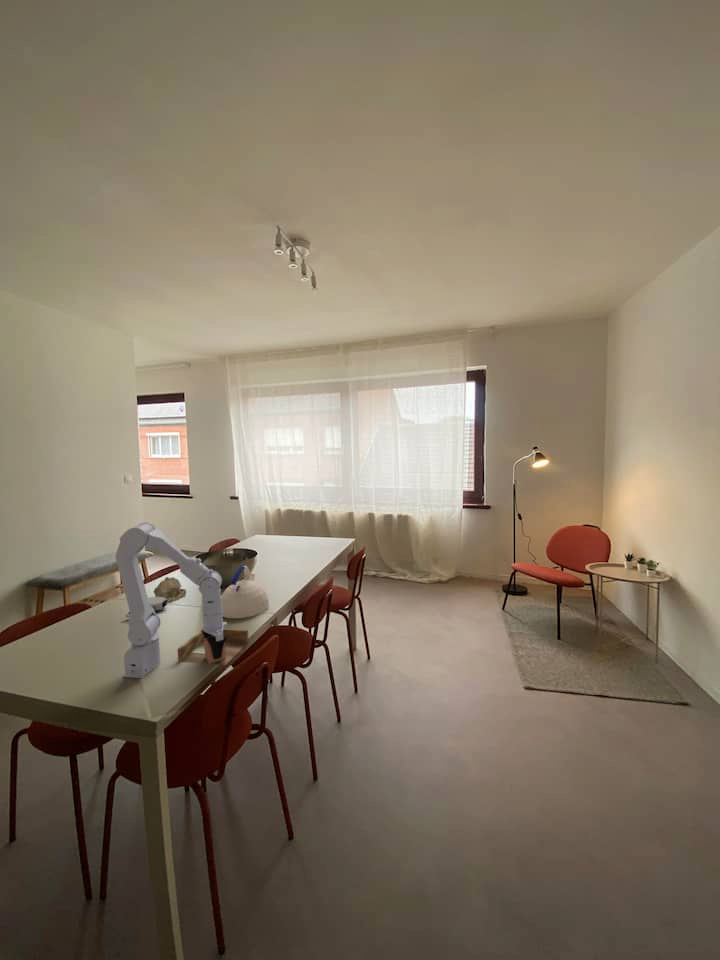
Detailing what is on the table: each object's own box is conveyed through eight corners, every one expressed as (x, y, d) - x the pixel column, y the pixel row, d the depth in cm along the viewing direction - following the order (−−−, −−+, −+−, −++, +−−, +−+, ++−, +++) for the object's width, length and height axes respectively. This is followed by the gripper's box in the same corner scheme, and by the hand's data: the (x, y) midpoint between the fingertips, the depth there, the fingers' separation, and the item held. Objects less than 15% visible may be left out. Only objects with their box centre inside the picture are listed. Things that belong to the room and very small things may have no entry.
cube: (225, 658, 123) (224, 639, 122) (209, 663, 120) (207, 644, 120) (221, 652, 127) (220, 634, 127) (205, 657, 124) (203, 638, 124)
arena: (225, 667, 119) (224, 652, 119) (178, 663, 122) (177, 648, 122) (248, 643, 134) (247, 629, 134) (205, 640, 137) (205, 627, 137)
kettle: (275, 599, 174) (273, 559, 173) (259, 619, 153) (256, 574, 152) (231, 599, 176) (229, 559, 175) (209, 618, 156) (206, 574, 154)
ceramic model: (162, 606, 170) (160, 583, 170) (146, 602, 176) (144, 580, 175) (190, 595, 182) (188, 574, 182) (174, 592, 188) (173, 571, 187)
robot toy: (153, 622, 156) (173, 605, 170) (152, 612, 155) (172, 595, 170) (123, 623, 156) (145, 605, 171) (122, 612, 155) (144, 595, 170)
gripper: (232, 616, 119) (235, 659, 120) (219, 602, 131) (221, 641, 132) (208, 622, 115) (210, 667, 116) (197, 607, 127) (199, 648, 128)
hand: (215, 654), depth 123 cm, fingers open, 5 cm apart
